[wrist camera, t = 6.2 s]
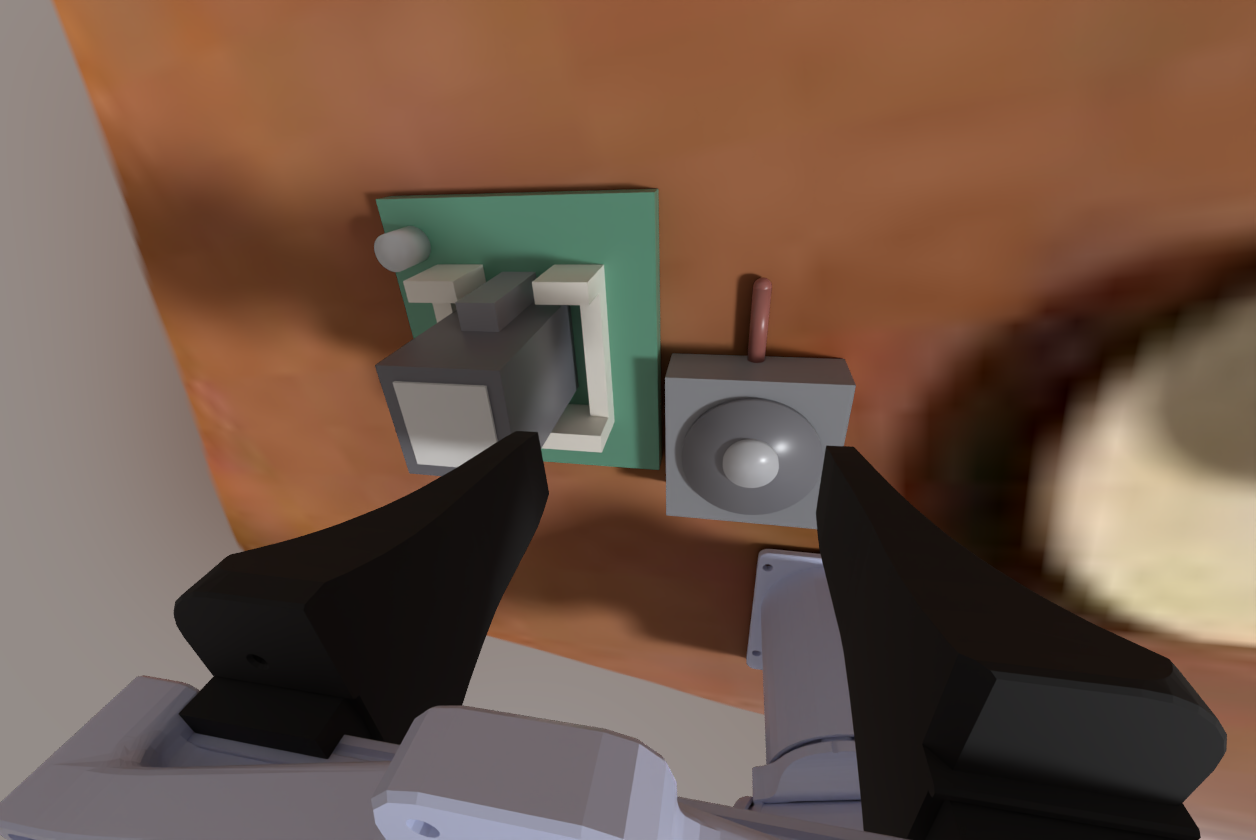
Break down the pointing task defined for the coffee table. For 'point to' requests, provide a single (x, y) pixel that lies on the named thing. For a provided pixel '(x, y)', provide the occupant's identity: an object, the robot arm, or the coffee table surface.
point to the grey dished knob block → (752, 429)
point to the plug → (481, 375)
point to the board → (552, 296)
